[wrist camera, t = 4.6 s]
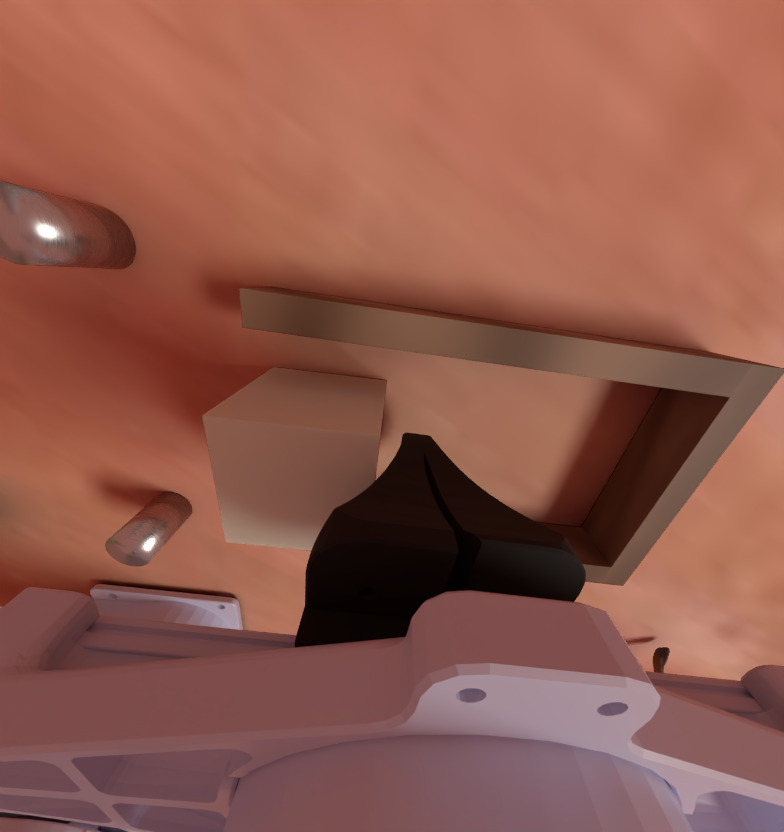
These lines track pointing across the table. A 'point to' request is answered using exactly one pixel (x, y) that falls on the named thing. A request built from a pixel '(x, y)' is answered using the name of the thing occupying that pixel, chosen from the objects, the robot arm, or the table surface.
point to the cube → (292, 453)
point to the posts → (88, 248)
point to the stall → (576, 355)
